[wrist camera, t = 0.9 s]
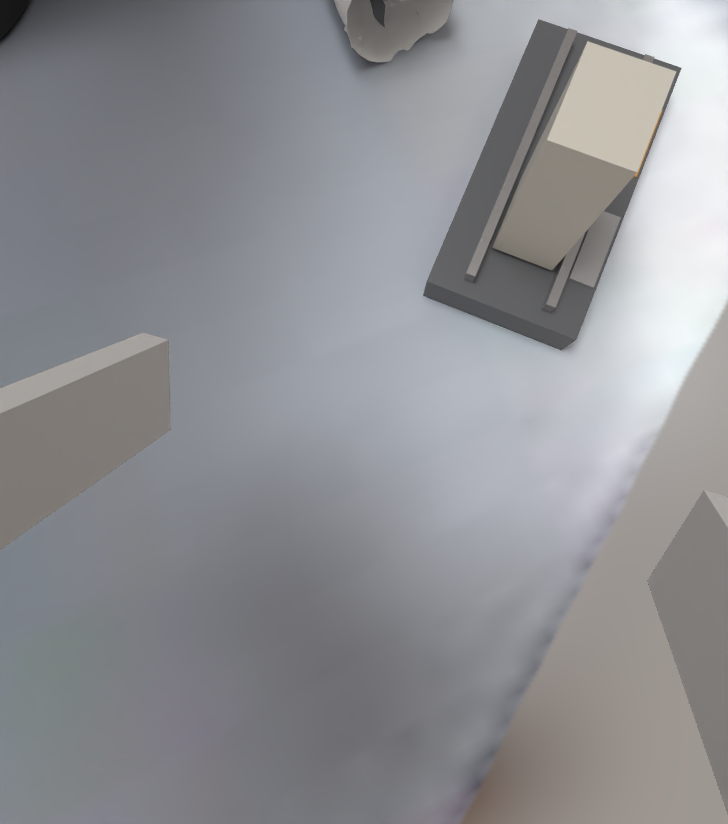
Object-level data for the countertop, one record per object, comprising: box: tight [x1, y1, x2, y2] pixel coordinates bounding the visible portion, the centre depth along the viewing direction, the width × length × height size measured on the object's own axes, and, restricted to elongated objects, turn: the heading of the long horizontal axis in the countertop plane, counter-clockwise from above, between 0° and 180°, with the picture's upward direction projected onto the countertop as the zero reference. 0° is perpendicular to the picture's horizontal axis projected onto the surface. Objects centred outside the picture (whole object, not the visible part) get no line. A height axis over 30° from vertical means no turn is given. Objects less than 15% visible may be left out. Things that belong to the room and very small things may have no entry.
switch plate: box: [423, 19, 681, 350], centre depth 32 cm, size 20×10×4 cm, turn 157°
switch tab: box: [492, 41, 676, 270], centre depth 25 cm, size 5×4×10 cm
